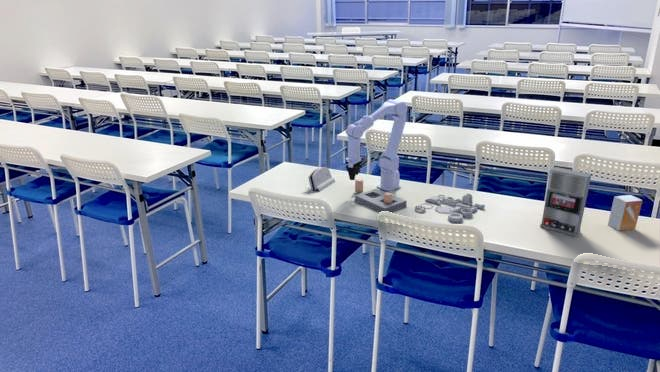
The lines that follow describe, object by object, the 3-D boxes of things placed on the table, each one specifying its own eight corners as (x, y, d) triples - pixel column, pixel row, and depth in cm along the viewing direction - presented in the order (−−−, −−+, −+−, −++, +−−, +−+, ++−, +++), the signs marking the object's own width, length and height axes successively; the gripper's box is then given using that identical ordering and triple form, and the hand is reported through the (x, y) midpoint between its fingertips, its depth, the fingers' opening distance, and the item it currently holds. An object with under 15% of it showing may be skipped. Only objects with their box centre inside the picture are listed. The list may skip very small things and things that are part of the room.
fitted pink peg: (387, 203, 218) (388, 191, 216) (394, 206, 215) (394, 194, 213) (381, 206, 216) (382, 193, 214) (387, 208, 213) (388, 196, 211)
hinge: (319, 191, 233) (313, 172, 231) (312, 193, 235) (305, 174, 234) (335, 181, 246) (329, 163, 245) (328, 183, 249) (322, 165, 247)
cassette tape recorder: (539, 227, 194) (549, 170, 185) (544, 222, 198) (554, 166, 190) (575, 237, 186) (587, 178, 177) (580, 232, 190) (592, 174, 181)
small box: (619, 231, 190) (626, 202, 186) (607, 224, 196) (613, 196, 191) (635, 229, 192) (643, 200, 187) (623, 222, 198) (630, 194, 193)
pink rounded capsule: (359, 189, 235) (359, 178, 233) (364, 191, 233) (364, 180, 230) (353, 191, 233) (353, 180, 231) (358, 193, 230) (358, 182, 228)
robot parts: (408, 211, 213) (409, 200, 211) (437, 195, 230) (438, 185, 228) (458, 226, 197) (459, 215, 195) (485, 208, 214) (486, 197, 212)
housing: (354, 200, 222) (354, 195, 222) (376, 193, 231) (376, 188, 230) (384, 213, 208) (385, 208, 207) (406, 205, 216) (406, 200, 215)
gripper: (349, 145, 227) (349, 171, 232) (342, 153, 214) (342, 181, 219) (363, 146, 225) (363, 172, 230) (357, 154, 212) (356, 182, 217)
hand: (354, 177), depth 225 cm, fingers open, 7 cm apart
